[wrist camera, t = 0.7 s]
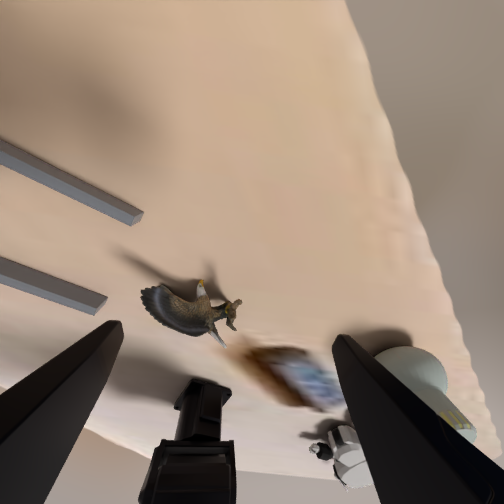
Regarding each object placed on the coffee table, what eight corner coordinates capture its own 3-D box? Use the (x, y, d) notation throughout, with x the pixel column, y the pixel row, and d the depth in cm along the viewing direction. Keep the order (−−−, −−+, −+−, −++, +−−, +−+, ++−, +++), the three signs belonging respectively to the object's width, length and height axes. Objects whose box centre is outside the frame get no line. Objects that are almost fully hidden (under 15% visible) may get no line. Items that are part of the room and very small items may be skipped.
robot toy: (299, 430, 38) (339, 466, 42) (307, 462, 34) (350, 498, 38) (358, 399, 36) (393, 441, 40) (373, 429, 32) (411, 471, 36)
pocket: (105, 303, 23) (87, 322, 20) (-40, 251, 20) (-85, 264, 17) (143, 212, 20) (129, 219, 17) (-23, 128, 16) (-75, 120, 13)
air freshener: (364, 340, 29) (425, 420, 20) (420, 330, 29) (506, 405, 20) (358, 390, 33) (407, 475, 24) (407, 381, 34) (474, 462, 24)
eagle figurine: (238, 264, 22) (143, 264, 19) (247, 335, 18) (130, 348, 15) (226, 293, 28) (153, 296, 25) (232, 351, 24) (145, 362, 21)
